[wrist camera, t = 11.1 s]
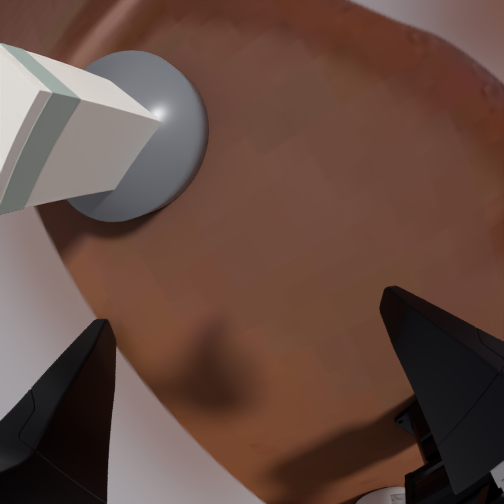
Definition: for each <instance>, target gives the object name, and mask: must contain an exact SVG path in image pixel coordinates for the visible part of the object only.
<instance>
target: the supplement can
mask: <svg viewBox="0 0 504 504" xmlns="http://www.w3.org/2000/svg"><path fill="white" fill-rule="evenodd" d="M356 504H405V487H399V486H398V487H388V488H384V489H380V490H377V491H374V492H371V493H369V494H367V495H365V496H363V497H362V498H361V499H359V500H358V501H357V503H356Z"/></svg>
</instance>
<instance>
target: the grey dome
mask: <svg viewBox="0 0 504 504" xmlns="http://www.w3.org/2000/svg"><path fill="white" fill-rule="evenodd" d="M84 71H87V72H89V73H92V74H94V75H97V76H100V77H102V78H105V79H107V80H110V81H111V82H112V83H114V84H115V85H116V86H117V87H119V88H120V89H121V90H123V91H124V92H125V93H126V94H128V95H129V96H130V97H132V98H133V99H134V100H135V101H137V102H138V103H139V104H140V105H142V106H143V107H144V108H145V109H147V110H148V111H149V112H150V113H152V114H153V115H154V116H155V117H157V118H158V119H159V120H160V121H162V123H161V125H160V126H159V127H158V128H157V130H156V131H155V132H154V134H153V135H152V136H151V138H150V139H149V141H148V142H147V143H146V145H145V146H144V147H143V149H142V150H141V152H140V153H139V154H138V156H137V157H136V159H135V160H134V162H133V163H132V164H131V166H130V167H129V169H128V170H127V172H126V173H125V175H124V176H123V178H122V179H121V181H120V182H119V184H118V185H117V187H116V188H115V190H109V191H104V192H98V193H93V194H87V195H82V196H77V197H72V198H67V199H66V200H67V201H68V202H69V203H70V204H71V205H72V206H73V207H74V208H75V209H77V210H78V211H79V212H81V213H83V214H84V215H86V216H88V217H90V218H93V219H96V220H100V221H106V222H120V221H126V220H130V219H133V218H136V217H139V216H142V215H144V214H147V213H150V212H153V211H155V210H158V209H161V208H162V207H164V206H166V205H168V204H170V203H171V202H172V201H174V200H175V199H176V198H178V197H179V196H180V195H181V194H182V193H183V192H184V191H185V190H186V189H187V187H188V186H189V185H190V184H191V182H192V181H193V179H194V178H195V176H196V175H197V173H198V171H199V169H200V167H201V165H202V162H203V159H204V156H205V153H206V149H207V144H208V134H209V127H208V117H207V111H206V108H205V105H204V102H203V99H202V97H201V95H200V93H199V91H198V90H197V89H196V87H195V86H194V84H193V83H192V82H191V81H190V80H189V79H188V78H187V77H186V76H184V75H183V74H182V73H181V72H180V71H178V70H177V69H176V68H174V67H173V66H172V65H171V64H169V63H168V62H166V61H165V60H164V59H162V58H160V57H158V56H156V55H154V54H151V53H147V52H142V51H122V52H116V53H113V54H110V55H107V56H105V57H102V58H100V59H98V60H96V61H95V62H93V63H92V64H90V65H89V66H87V67H86V68H85V69H84Z"/></svg>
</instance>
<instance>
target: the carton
mask: <svg viewBox="0 0 504 504" xmlns="http://www.w3.org/2000/svg"><path fill="white" fill-rule="evenodd" d="M161 123H162V121H160V120H159V119H158V118H157V117H155V116H154V115H153V114H152V113H150V112H149V111H148V110H147V109H145V108H144V107H143V106H142V105H140V104H139V103H138V102H137V101H135V100H134V99H133V98H132V97H130V96H129V95H128V94H126V93H125V92H124V91H123V90H121V89H120V88H119V87H117V86H116V85H115V84H114V83H112V82H111V81H110V80H107V79H105V78H102V77H100V76H97V75H94V74H92V73H89V72H87V71H84V70H81V69H79V68H76V67H73V66H70V65H67V64H65V63H62V62H59V61H56V60H53V59H50V58H47V57H44V56H41V55H38V54H34V53H31V52H28V51H25V50H23V49H20V48H16V47H13V46H9V45H6V44H2V43H0V215H2V214H6V213H10V212H14V211H17V210H22V209H24V208H26V207H31V206H36V205H40V204H44V203H49V202H53V201H58V200H63V199H67V198H72V197H77V196H82V195H87V194H93V193H98V192H104V191H109V190H115V188H116V187H117V185H118V184H119V182H120V181H121V179H122V178H123V176H124V175H125V173H126V172H127V170H128V169H129V167H130V166H131V164H132V163H133V162H134V160H135V159H136V157H137V156H138V154H139V153H140V152H141V150H142V149H143V147H144V146H145V145H146V143H147V142H148V141H149V139H150V138H151V136H152V135H153V134H154V132H155V131H156V130H157V128H158V127H159V126H160V125H161Z"/></svg>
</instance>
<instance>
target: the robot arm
mask: <svg viewBox="0 0 504 504" xmlns="http://www.w3.org/2000/svg"><path fill="white" fill-rule="evenodd" d="M380 314H381V316H382V319H383V321H384V324H385V327H386V329H387V332H388V335H389V337H390V340H391V343H392V345H393V348H394V350H395V352H396V354H397V357H398V359H399V361H400V363H401V365H402V367H403V369H404V371H405V373H406V375H407V378H408V380H409V382H410V384H411V386H412V388H413V391H414V393H415V395H416V397H417V401H416V402H415V403H413V404H412V405H411V406H410V407H409V408H407V409H406V410H405V411H404V412H402V413H401V414H400V415H399V416H397V417H396V418H395V424H396V425H397V426H399V427H401V428H402V429H404V430H405V431H407V432H409V433H410V434H412V435H414V436H415V439H416V442H417V445H418V447H419V450H420V453H421V456H422V459H423V462H424V465H423V466H422V467H420V468H418V469H417V470H415V471H413V472H412V473H411V472H410V473H408V474H406V475H405V504H504V341H502V340H500V339H497V338H495V337H493V336H492V335H490V334H488V333H486V332H484V331H482V330H480V329H478V328H476V327H475V326H473V325H471V324H469V323H467V322H465V321H464V320H462V319H460V318H458V317H456V316H454V315H452V314H450V313H448V312H447V311H445V310H443V309H441V308H439V307H437V306H435V305H433V304H431V303H429V302H427V301H426V300H424V299H422V298H420V297H418V296H416V295H414V294H412V293H410V292H408V291H406V290H404V289H402V288H400V287H398V286H389V287H386V288H385V289H384V292H383V295H382V299H381V303H380ZM115 370H116V338H115V336H114V333H113V331H112V328H111V325H110V323H109V321H108V320H107V319H96V320H94V321H93V322H92V323H91V324H90V325H89V326H88V327H87V328H86V329H85V330H84V331H83V332H82V333H81V334H80V336H78V337H77V339H76V340H75V341H74V342H73V343H72V344H71V345H70V346H69V347H68V348H67V349H66V350H65V351H64V352H63V353H62V354H61V356H60V357H59V358H58V359H57V360H56V361H55V362H54V363H53V364H52V365H51V366H50V367H49V369H48V370H47V371H46V372H45V373H44V374H43V375H42V376H41V377H40V379H39V380H38V381H37V382H36V383H35V384H34V385H33V387H32V388H31V389H32V390H31V389H30V390H29V391H28V392H27V393H26V394H25V395H24V397H23V398H22V399H21V400H20V401H19V402H18V403H17V404H16V405H15V406H14V407H13V408H12V410H11V411H10V412H9V413H8V414H7V415H6V416H5V417H4V418H3V419H2V420H1V421H0V504H107V482H108V458H109V443H110V431H111V419H112V409H113V401H114V392H115Z"/></svg>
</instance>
